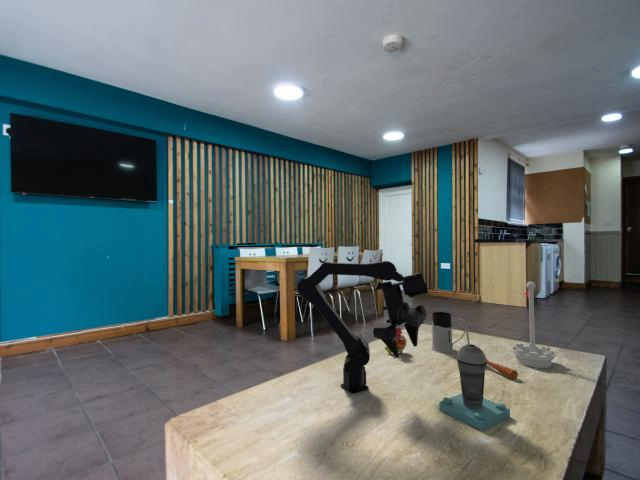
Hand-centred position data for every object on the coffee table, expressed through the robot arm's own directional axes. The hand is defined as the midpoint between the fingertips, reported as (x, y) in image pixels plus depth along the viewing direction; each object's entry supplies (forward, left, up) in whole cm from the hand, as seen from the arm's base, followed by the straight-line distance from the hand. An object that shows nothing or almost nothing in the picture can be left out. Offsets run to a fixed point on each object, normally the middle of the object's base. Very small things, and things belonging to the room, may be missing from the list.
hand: (406, 351), depth 99 cm
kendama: (+37, -3, -12) cm, 39 cm away
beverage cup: (+5, -19, -10) cm, 22 cm away
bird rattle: (+22, +27, -12) cm, 37 cm away
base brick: (+5, -19, -12) cm, 23 cm away
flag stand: (+57, -8, -12) cm, 58 cm away
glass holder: (+43, +18, -12) cm, 48 cm away
